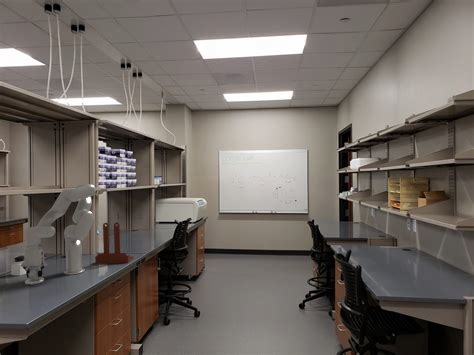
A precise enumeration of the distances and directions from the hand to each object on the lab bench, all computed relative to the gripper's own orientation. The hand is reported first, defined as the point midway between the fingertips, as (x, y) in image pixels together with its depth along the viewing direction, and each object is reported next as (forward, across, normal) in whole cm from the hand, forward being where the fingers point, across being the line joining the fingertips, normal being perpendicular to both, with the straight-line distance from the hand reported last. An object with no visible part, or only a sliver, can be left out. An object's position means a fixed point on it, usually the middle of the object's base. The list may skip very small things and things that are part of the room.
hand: (34, 276), depth 204 cm
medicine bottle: (+4, +20, -21) cm, 29 cm away
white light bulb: (+2, 0, 0) cm, 2 cm away
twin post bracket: (+4, -35, -45) cm, 57 cm away
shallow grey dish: (+4, 0, 0) cm, 4 cm away
